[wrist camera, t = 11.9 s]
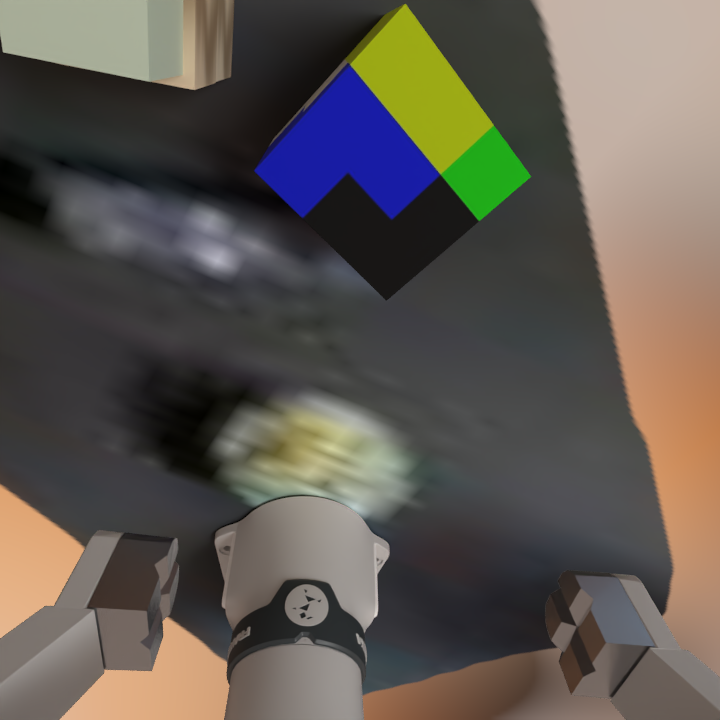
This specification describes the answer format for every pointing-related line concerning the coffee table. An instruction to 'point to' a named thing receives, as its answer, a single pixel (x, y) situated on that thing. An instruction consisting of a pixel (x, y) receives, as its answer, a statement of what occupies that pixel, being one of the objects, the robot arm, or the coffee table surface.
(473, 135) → the puzzle toy
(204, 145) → the coffee table surface
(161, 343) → the coffee table surface
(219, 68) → the tower base
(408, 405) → the coffee table surface
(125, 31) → the sage cube
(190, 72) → the tower mid
